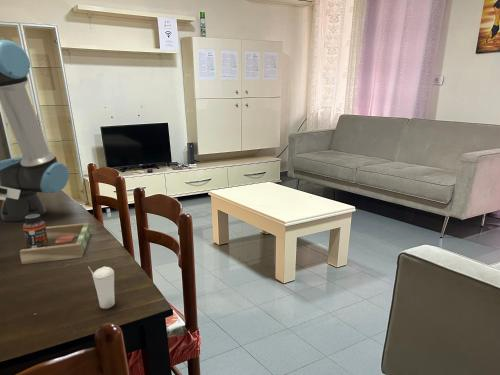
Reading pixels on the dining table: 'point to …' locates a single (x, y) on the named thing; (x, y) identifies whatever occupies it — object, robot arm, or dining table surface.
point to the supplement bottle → (35, 232)
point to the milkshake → (104, 286)
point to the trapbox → (60, 251)
